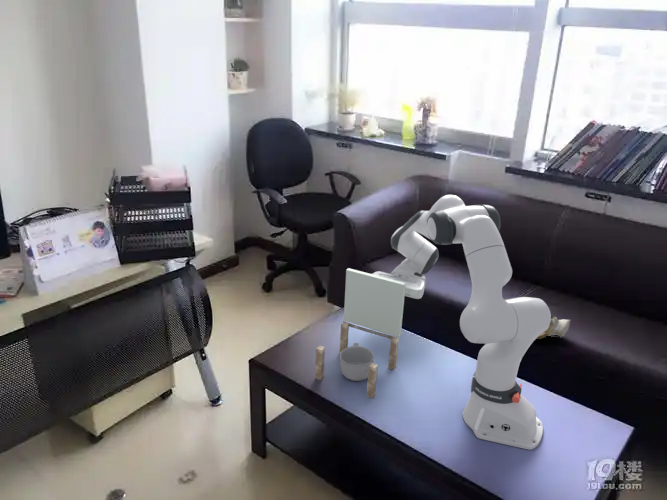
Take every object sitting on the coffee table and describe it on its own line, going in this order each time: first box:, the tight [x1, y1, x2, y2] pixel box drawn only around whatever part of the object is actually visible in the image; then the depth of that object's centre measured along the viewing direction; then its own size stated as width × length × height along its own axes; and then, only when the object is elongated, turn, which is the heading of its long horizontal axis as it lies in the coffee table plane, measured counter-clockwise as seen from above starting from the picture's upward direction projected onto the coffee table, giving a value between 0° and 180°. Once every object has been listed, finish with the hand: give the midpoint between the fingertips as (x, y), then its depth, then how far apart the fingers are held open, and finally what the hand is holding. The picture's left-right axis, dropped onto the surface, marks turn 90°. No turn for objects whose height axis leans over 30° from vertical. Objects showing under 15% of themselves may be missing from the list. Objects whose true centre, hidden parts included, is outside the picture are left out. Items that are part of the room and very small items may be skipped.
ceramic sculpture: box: [536, 315, 571, 340], centre depth 211 cm, size 11×9×15 cm
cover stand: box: [314, 321, 400, 400], centre depth 185 cm, size 20×20×11 cm
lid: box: [343, 267, 406, 338], centre depth 188 cm, size 20×19×3 cm
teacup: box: [339, 342, 375, 382], centre depth 186 cm, size 14×11×8 cm
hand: (387, 293), depth 198 cm, fingers closed
